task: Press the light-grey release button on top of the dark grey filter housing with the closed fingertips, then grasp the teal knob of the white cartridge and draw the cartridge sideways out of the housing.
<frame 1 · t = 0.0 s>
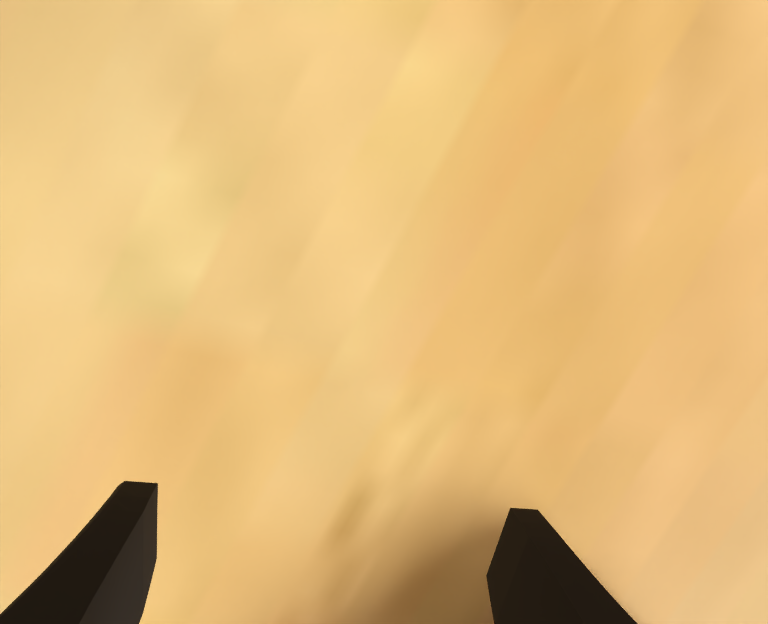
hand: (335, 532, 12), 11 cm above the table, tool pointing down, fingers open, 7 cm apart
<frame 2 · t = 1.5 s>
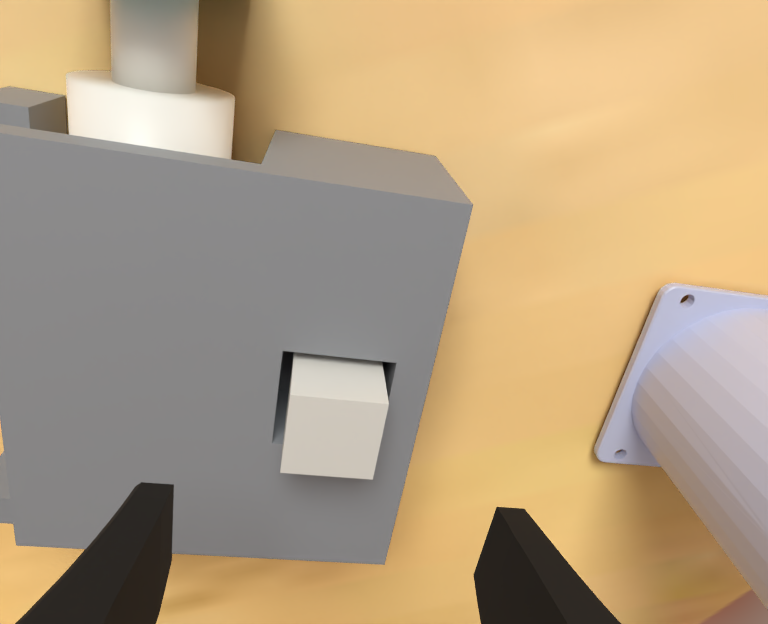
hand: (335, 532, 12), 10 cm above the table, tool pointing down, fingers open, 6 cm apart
button: (332, 409, 16), point 6 cm above the table, slide at 0.0 cm
housing: (199, 299, 20), on the table
cartridge: (148, 213, 16), point 3 cm above the table, slide at 0.0 cm
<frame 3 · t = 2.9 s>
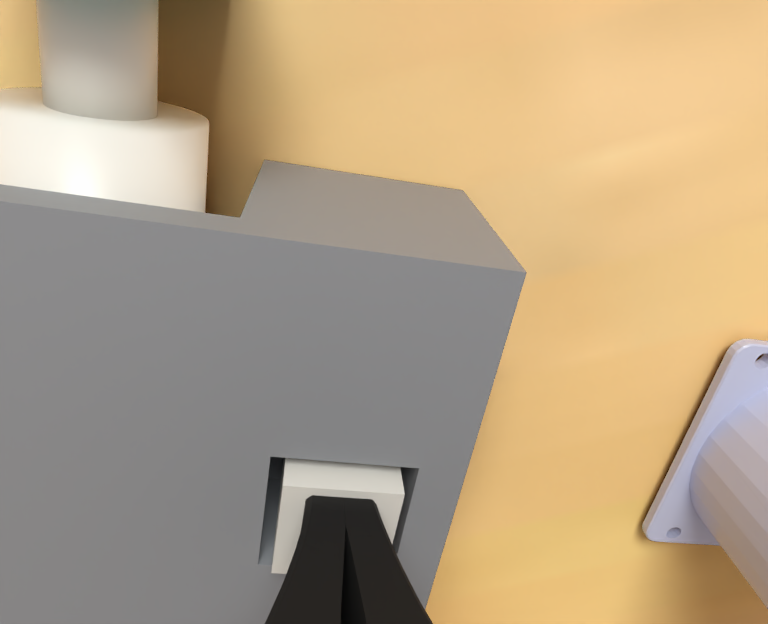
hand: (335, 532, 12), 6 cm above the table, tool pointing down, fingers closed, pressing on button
button: (335, 491, 13), point 5 cm above the table, slide at 1.0 cm, touching gripper
housing: (173, 362, 17), on the table
cartridge: (98, 272, 13), point 3 cm above the table, slide at 0.0 cm
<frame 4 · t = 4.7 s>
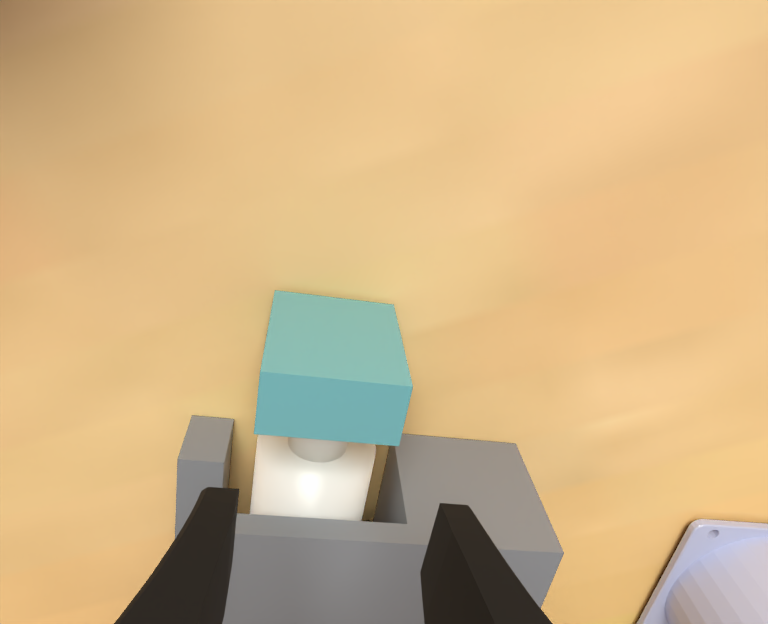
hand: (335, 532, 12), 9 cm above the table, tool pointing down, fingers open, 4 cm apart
housing: (321, 542, 25), on the table
cartridge: (305, 524, 21), point 3 cm above the table, slide at 0.0 cm
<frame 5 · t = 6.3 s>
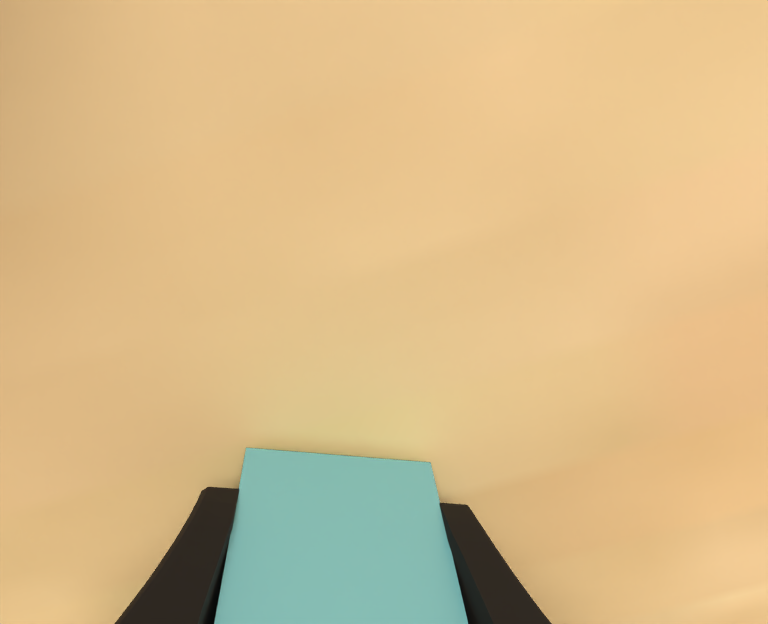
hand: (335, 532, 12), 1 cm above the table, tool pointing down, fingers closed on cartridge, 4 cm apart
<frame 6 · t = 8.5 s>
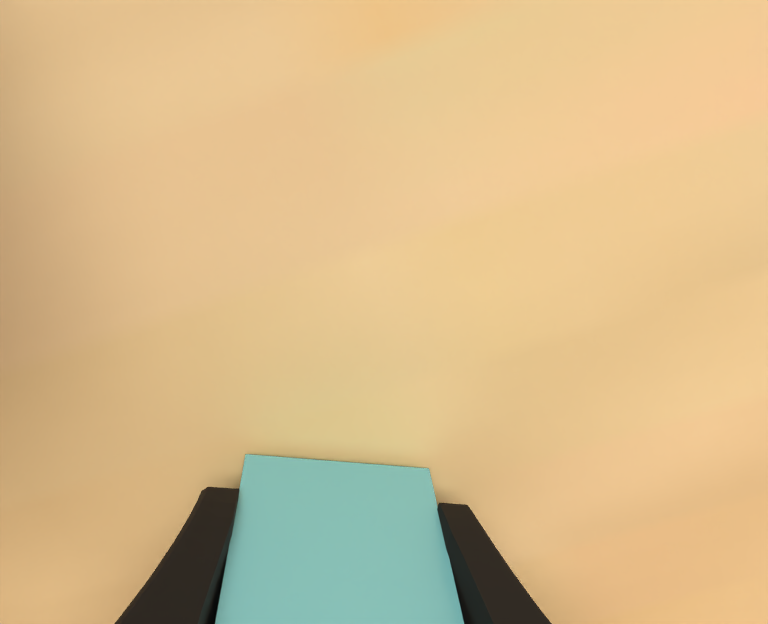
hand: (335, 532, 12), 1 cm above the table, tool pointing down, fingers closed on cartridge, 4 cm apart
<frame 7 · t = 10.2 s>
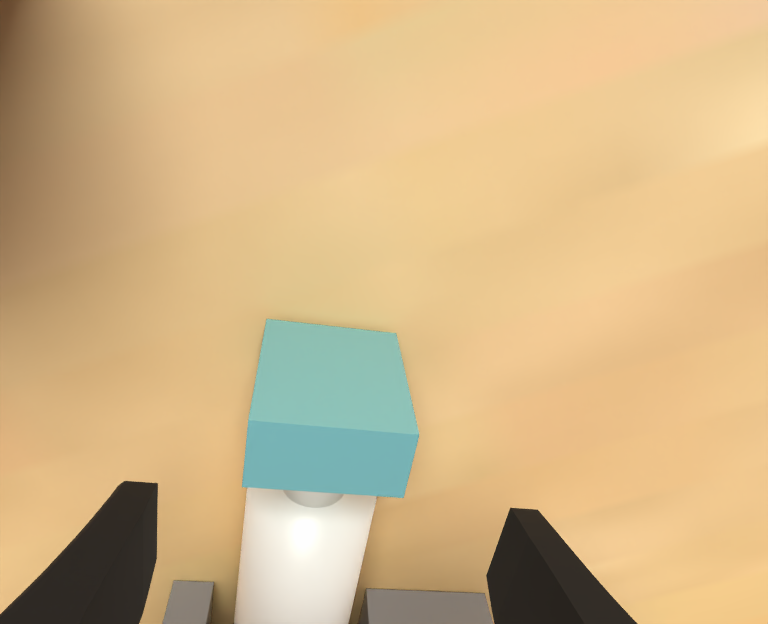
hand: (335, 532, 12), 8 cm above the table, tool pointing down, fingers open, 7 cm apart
cartridge: (301, 570, 19), point 3 cm above the table, slide at 6.3 cm
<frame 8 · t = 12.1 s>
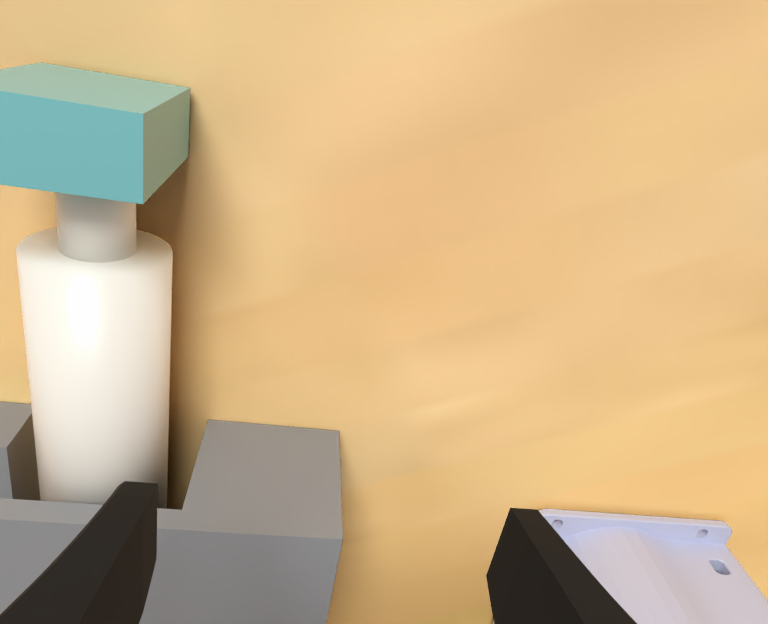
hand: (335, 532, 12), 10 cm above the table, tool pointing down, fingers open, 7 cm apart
housing: (151, 532, 25), on the table
cartridge: (96, 355, 18), point 3 cm above the table, slide at 6.3 cm
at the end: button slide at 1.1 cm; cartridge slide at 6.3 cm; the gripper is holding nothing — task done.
